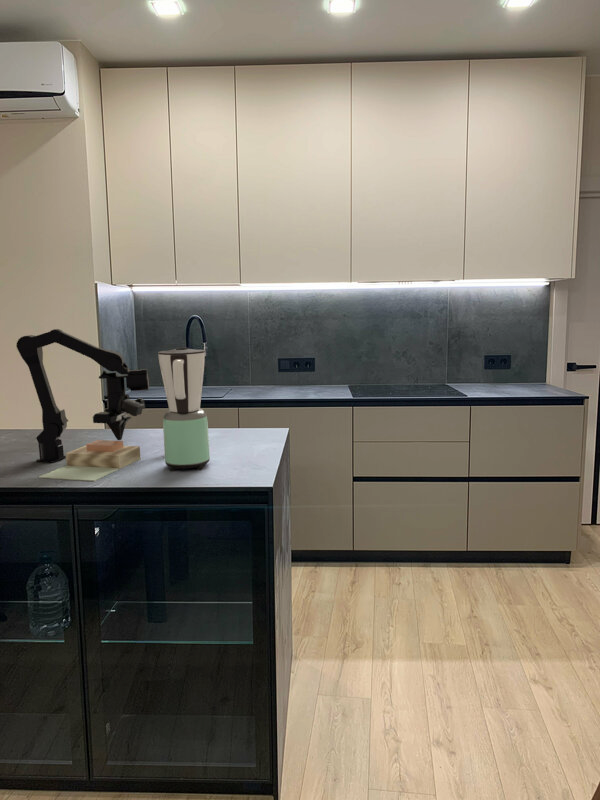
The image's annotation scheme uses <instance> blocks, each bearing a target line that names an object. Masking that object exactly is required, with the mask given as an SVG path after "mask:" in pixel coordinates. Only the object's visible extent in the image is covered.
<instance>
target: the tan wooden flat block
mask: <svg viewBox="0 0 600 800" xmlns="http://www.w3.org/2000/svg"><path fill="white" fill-rule="evenodd" d="M65 456H66V458H65V459H66V460H65V461H66V466H81V467H100V468H118V469H119V470H120V469H123V468H125V467H127V466H129V465H131V464H133V463H136V462H137V461H139V460H141V446H139V445H123V448H121V449H118V450H116V451H114V452H103V451H87V448H86V445H84V446H81V447H79V448H76V449H74V450H70V451H68V452H66V453H65Z"/></svg>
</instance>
